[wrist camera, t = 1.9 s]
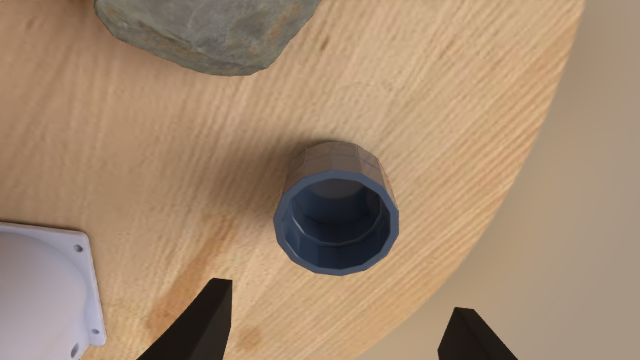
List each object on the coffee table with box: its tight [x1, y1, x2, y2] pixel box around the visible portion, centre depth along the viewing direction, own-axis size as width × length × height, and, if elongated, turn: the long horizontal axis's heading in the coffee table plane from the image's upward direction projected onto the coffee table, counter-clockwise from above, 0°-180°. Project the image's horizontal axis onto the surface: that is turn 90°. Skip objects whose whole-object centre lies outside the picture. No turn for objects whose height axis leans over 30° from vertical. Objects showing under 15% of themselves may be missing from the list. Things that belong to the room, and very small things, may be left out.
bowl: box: [273, 141, 399, 276], centre depth 18 cm, size 6×6×4 cm
